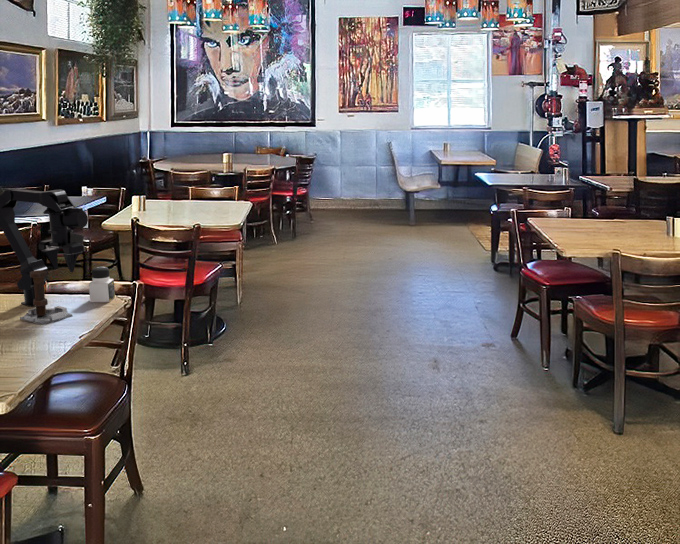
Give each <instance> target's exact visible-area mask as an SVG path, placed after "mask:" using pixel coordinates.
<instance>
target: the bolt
mask: <svg viewBox="0 0 680 544" xmlns="http://www.w3.org/2000/svg"><path fill="white" fill-rule="evenodd" d="M45 276H47V272H46V271H43V270H38V271H31V272H30V277H31V278H33V281H34V291H35V299H34V300H33V305H34V306H33V307H35V308H36V315H38V316H44V315H46V309H47V307H46V306H47V305H48V303H49V302H48V299H47V298H46V294H45V285H44V277H45ZM47 277H48V276H47Z"/></svg>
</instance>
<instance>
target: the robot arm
mask: <svg viewBox="0 0 680 544" xmlns="http://www.w3.org/2000/svg"><path fill="white" fill-rule="evenodd" d="M18 202H24V203H35V204H39V205H41V206H42V207H45V208H46V209H45V210H44V211H43V212H42V214H44V215H48V219H49V229H48V230H47V233H48V234H51V236H50V237H51V238H50V239H46V240H40V241H39V243H38V250H40V251H41V252H40V253H43V255H44V256H45V258H46V259H47V260H48V262H49V263H50V265H51V267H52V268H53V269H54V270H55V271H56V270H58V269H59V268H58V267H59V266H58V265H59V264H58V261H59V260H58V259H59V258H58V253H59V252H60V251H61V250H63V251H62V252H63V254H62V255H63V257H64V260H65V263H66V265H67V268H68V271H69V272H70V273H73V272H75V267H76V263H77V261H78V260H77V259H78V257H79V255H81V254H83V252H85V250H86V249H85V245H84V239H85V235H84V234H78V233H75V232H74V230H72V229H71V228H85V227H86V226H87V225H88V222H89V217H88V215H87V213H86V212H85V211H84V207H81V206H80V207H79V206H78V207H76V206H75V205H74V203H73V202H72V200H71V199H70V198H69V196H68V194H67V193H66V191H65V190H64V189H53V190H47V191H46V190H45V191H42V190H41V191H40V190H31V189H22V188H17V187H14V188H8V189H7V188H6V189H5V190H4V191H3V193H1V194H0V229H1V230H2V232H3V234H4V235H5V237H6V239H7V241H8V244H9V245H10V246H11V249H12V250H13V252H14V254H15V256H16V257H17V260H18V262H19V264H20V267H19V268H20V271H19V272H20V275H21V278H20V279H19V280H18V281H17V282H16V285H17V288H18V290H23V298H24V299H23V300H24V301H22V302H21V303H20V304H21V305H24V306H27V307H35V306H34V305H33V300H34V299H35V291H34V281H33V278H31V277H30V272H31V271H38V270H43V271H46V272H47V276H45V277H44V286H45V285H46V282H47V279H48V276H49V273H48V269H49V268H48V267H47V266H46V265H45V262H44V260H43V259H42V258H41V259H37V258H35V256H34V254H33V253H32V251H31V249H30V248H29V245H28V244H27V242H26V240H25V239H24V236H23V235H22V232H21V231H20V229H19V228H18V226H17V224H16V222H15V221H16V213H15V210H14V209H15V208H16V207H17V206H18V205H17V204H18Z"/></svg>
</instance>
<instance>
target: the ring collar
mask: <svg viewBox="0 0 680 544" xmlns="http://www.w3.org/2000/svg"><path fill="white" fill-rule="evenodd" d="M70 316H71V317H73V314H72V313H69V312H68V308H67V307H64V306H60V305H57V306H54V307H52V308H51V307H49V308H48V307H47V308H46V315H44V316H38V315H36V307H34V308H30V309H27V312H26V313H25V314H24V315H23V316H20V317H19V320H21V319H22V321H25V322H30V323H32V324H38V325H40V324H41V325H42V324H43V325H45V324H49V323H52V322H57V321H59V319H60V320H63V319H62V318H64V319H67V318H71V317H70ZM56 320H57V321H56ZM41 325H40V326H41ZM43 325H42V326H43Z"/></svg>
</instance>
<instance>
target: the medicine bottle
mask: <svg viewBox="0 0 680 544" xmlns="http://www.w3.org/2000/svg"><path fill="white" fill-rule="evenodd" d="M91 276H92V279H91V280H92V281H90V282H89V283H88V288H89V289H88V290H89V301H90V303H110V302H111V301H112V300H114V297H115V298H116V293H115V292H116V291H115V280H114V278H111V277H110V276H111V275H110V269H109V268H108V267H107V266H97V267H93V268H92V270H91Z"/></svg>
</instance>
